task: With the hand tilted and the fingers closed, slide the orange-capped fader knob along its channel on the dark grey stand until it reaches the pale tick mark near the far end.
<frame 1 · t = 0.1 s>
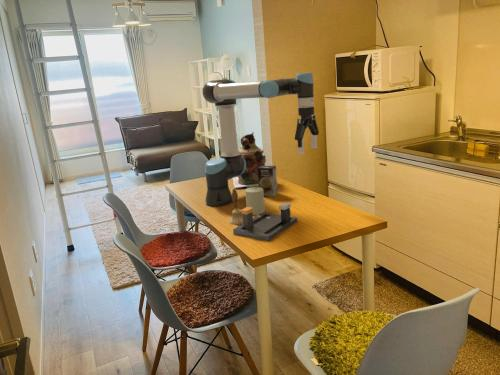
hand: (307, 150, 194), 28 cm above the table, tool pointing down, fingers open, 13 cm apart
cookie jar: (252, 182, 254), on the table
can: (255, 211, 200), on the table
dark grey stand: (265, 227, 178), on the table
hand bell: (237, 221, 189), on the table
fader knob: (247, 218, 175), point 6 cm above the table, slide at -6.0 cm
coffee box: (268, 194, 227), on the table
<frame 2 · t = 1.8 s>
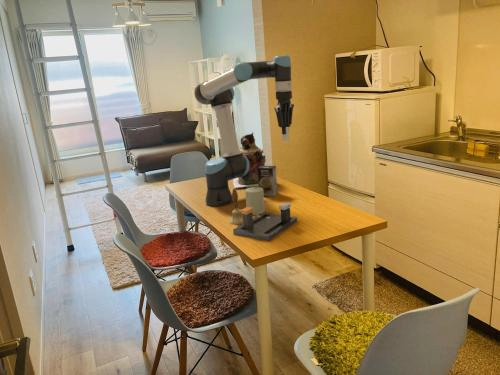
hand: (285, 140, 192), 34 cm above the table, tool pointing down, fingers closed
nothing on the table moved.
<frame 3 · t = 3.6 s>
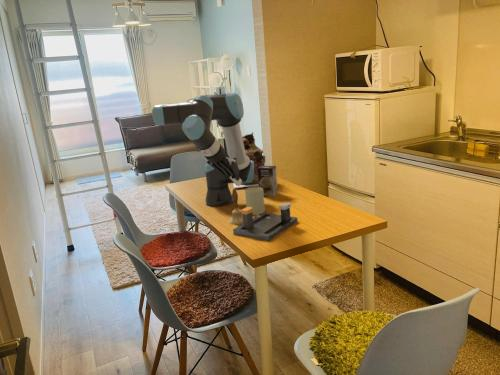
hand: (239, 183, 165), 23 cm above the table, tool tilted 40°, fingers closed
nothing on the table moved.
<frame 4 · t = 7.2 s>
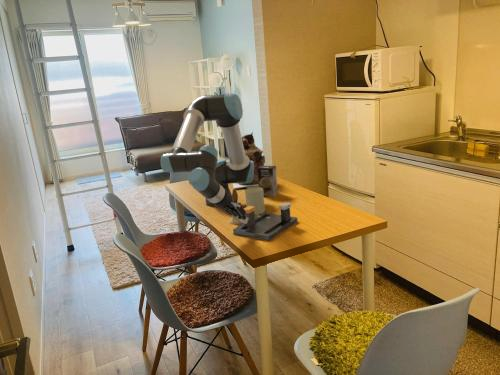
hand: (246, 221, 174), 5 cm above the table, tool tilted 45°, fingers closed
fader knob: (249, 216, 176), point 6 cm above the table, slide at -4.5 cm, touching gripper
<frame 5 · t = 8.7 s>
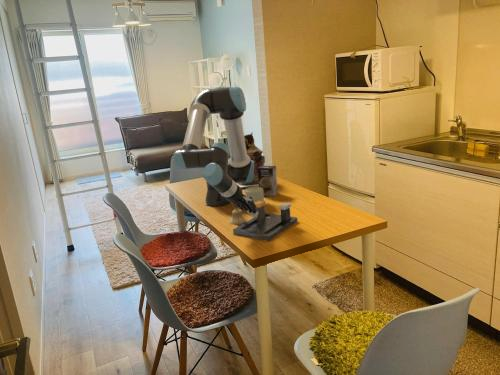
hand: (256, 215, 180), 5 cm above the table, tool tilted 45°, fingers closed
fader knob: (260, 211, 182), point 6 cm above the table, slide at 3.6 cm, touching gripper
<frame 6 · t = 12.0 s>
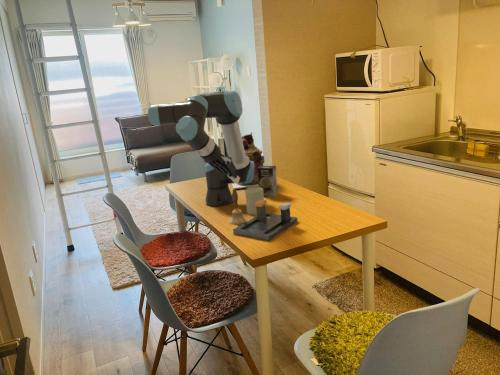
hand: (237, 180, 166), 24 cm above the table, tool tilted 45°, fingers closed
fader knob: (261, 210, 183), point 6 cm above the table, slide at 4.7 cm
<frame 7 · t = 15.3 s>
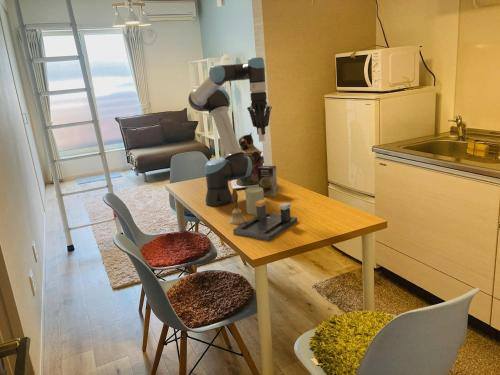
hand: (261, 141, 195), 34 cm above the table, tool pointing down, fingers closed
at the end: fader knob slide at 4.7 cm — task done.
